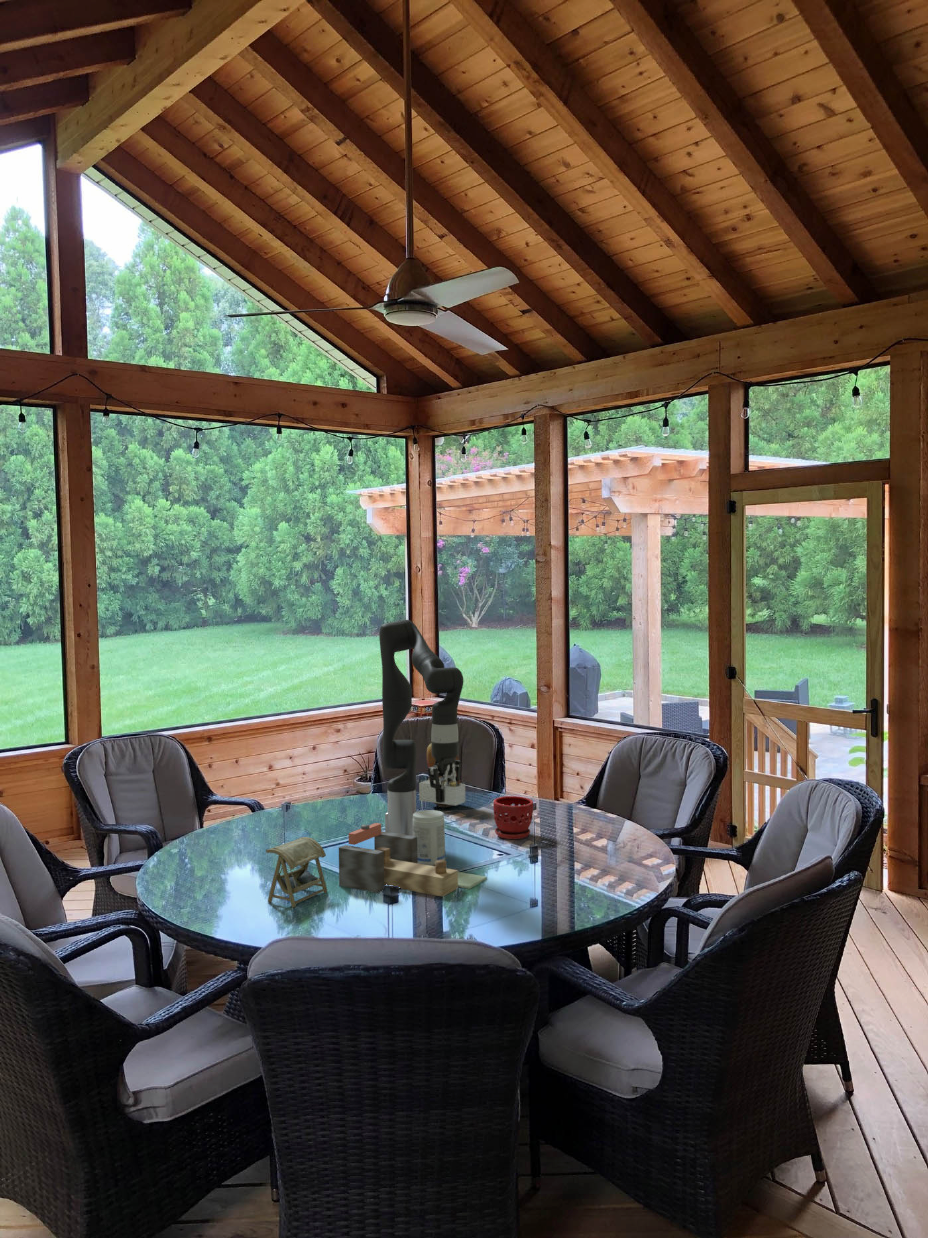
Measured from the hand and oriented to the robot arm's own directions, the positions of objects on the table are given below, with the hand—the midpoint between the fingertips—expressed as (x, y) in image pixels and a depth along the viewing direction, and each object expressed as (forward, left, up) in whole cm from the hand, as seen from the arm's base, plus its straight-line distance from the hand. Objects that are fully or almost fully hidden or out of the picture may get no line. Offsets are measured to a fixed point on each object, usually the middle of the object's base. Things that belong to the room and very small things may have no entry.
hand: (445, 800), depth 267 cm
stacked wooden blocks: (-10, -6, -23) cm, 26 cm away
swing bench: (-29, -29, -24) cm, 47 cm away
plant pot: (-6, +53, -24) cm, 58 cm away
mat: (+3, +4, -23) cm, 24 cm away
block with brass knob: (-1, 0, 0) cm, 1 cm away
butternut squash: (-47, +77, -24) cm, 93 cm away
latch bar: (-23, -6, -12) cm, 27 cm away
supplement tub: (-15, +15, -24) cm, 31 cm away
